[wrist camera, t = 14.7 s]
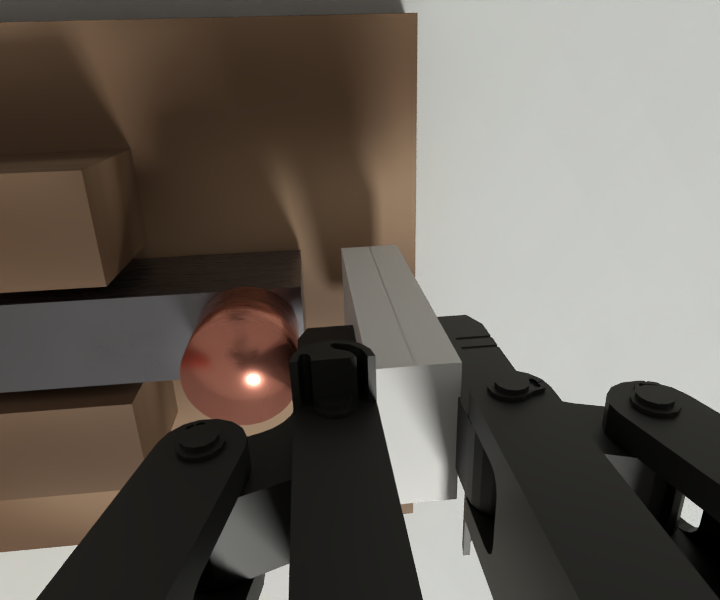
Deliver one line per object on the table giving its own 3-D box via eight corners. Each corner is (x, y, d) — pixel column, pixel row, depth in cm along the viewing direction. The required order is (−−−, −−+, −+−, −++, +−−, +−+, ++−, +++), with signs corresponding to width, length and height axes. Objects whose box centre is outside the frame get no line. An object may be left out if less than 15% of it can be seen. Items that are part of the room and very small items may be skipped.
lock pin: (-36, 264, 15) (-189, 350, 10) (300, 246, 16) (300, 317, 11) (-11, 344, 16) (-141, 456, 11) (306, 323, 16) (308, 419, 12)
